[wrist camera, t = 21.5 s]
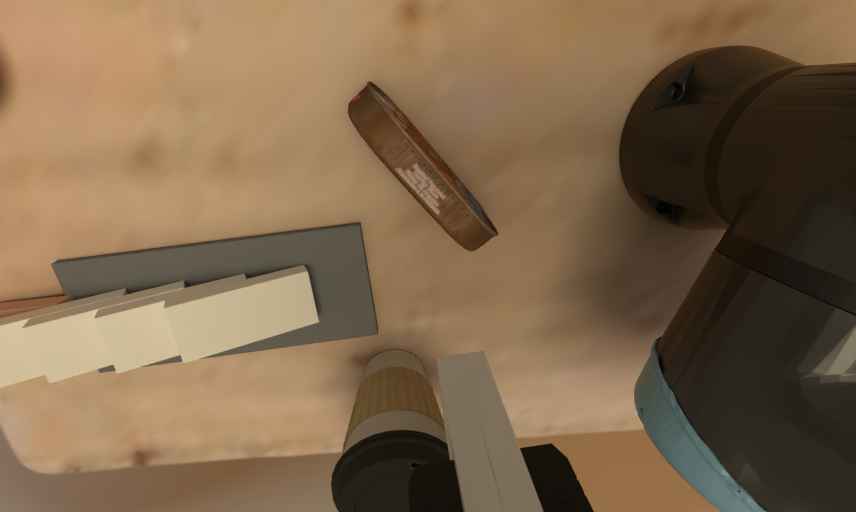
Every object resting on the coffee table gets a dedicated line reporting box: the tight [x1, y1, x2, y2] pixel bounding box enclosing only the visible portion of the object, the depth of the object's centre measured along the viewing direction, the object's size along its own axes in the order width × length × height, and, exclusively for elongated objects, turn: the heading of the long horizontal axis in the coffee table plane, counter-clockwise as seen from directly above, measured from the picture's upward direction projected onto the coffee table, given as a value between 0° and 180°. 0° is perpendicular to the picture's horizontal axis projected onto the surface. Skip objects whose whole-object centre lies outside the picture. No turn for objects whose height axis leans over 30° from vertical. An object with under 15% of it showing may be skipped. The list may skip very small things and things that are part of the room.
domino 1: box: [0, 295, 74, 318], centre depth 38 cm, size 2×5×11 cm
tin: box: [348, 81, 498, 251], centre depth 34 cm, size 15×3×8 cm, turn 41°
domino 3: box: [22, 280, 187, 383], centre depth 37 cm, size 2×5×11 cm
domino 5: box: [163, 265, 319, 364], centre depth 37 cm, size 2×5×11 cm
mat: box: [51, 223, 378, 373], centre depth 40 cm, size 26×11×1 cm, turn 96°
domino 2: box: [0, 288, 128, 388], centre depth 36 cm, size 2×5×11 cm
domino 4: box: [94, 273, 246, 374], centre depth 37 cm, size 2×5×11 cm
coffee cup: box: [331, 350, 450, 512], centre depth 38 cm, size 10×10×15 cm
